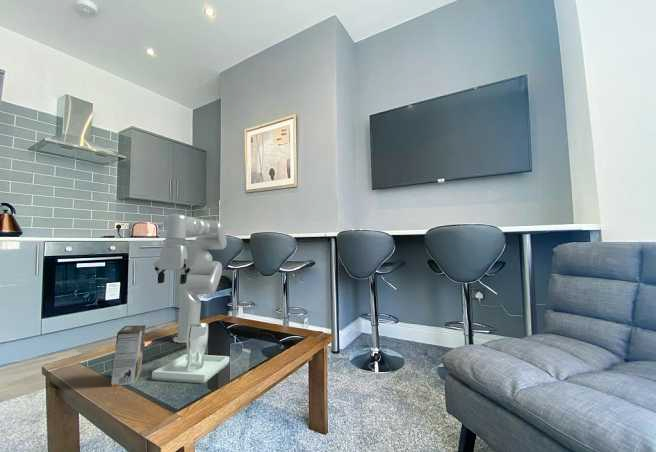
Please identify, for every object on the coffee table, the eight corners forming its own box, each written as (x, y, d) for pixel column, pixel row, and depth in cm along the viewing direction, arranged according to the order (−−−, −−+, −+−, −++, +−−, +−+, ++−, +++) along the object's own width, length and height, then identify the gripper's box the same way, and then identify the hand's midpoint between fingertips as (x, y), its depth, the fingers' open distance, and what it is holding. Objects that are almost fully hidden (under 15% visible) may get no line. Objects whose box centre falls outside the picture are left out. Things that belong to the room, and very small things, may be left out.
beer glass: (197, 373, 94) (200, 327, 96) (179, 371, 95) (183, 326, 97) (209, 365, 100) (212, 323, 102) (192, 364, 102) (196, 322, 104)
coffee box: (118, 375, 92) (124, 325, 94) (141, 373, 95) (146, 324, 97) (109, 387, 84) (116, 332, 86) (134, 383, 86) (140, 330, 88)
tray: (185, 360, 107) (185, 353, 108) (229, 363, 105) (229, 356, 106) (151, 379, 89) (152, 371, 90) (204, 383, 88) (204, 375, 88)
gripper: (149, 242, 114) (145, 283, 113) (189, 243, 113) (186, 285, 112) (161, 242, 122) (158, 281, 120) (199, 243, 121) (196, 283, 119)
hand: (171, 283), depth 116 cm, fingers open, 9 cm apart
